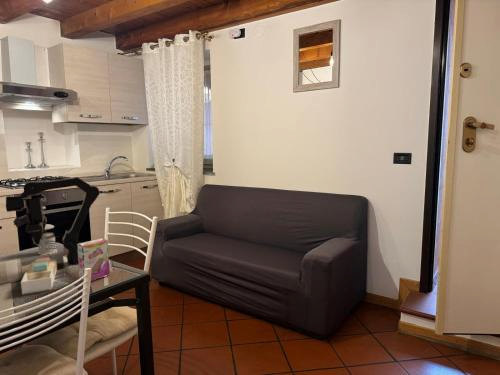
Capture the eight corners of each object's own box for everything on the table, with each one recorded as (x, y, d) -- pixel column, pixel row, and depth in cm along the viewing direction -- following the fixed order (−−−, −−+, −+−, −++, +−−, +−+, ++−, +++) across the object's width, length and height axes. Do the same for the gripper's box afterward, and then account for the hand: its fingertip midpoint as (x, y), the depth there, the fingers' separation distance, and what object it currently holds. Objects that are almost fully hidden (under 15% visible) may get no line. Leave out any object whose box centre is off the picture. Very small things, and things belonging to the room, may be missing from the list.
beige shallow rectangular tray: (57, 267, 161) (56, 259, 161) (54, 279, 147) (53, 270, 147) (32, 270, 157) (31, 262, 157) (26, 283, 143) (25, 274, 142)
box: (54, 279, 147) (53, 268, 146) (51, 289, 137) (50, 277, 137) (26, 284, 143) (25, 272, 142) (22, 294, 133) (20, 282, 132)
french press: (62, 250, 186) (58, 205, 182) (41, 257, 176) (36, 209, 172) (50, 248, 190) (46, 204, 187) (29, 254, 180) (24, 208, 176)
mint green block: (48, 266, 152) (47, 261, 151) (47, 270, 147) (46, 264, 147) (35, 268, 150) (34, 262, 149) (33, 272, 145) (32, 266, 145)
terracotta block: (49, 261, 157) (49, 256, 157) (48, 265, 153) (48, 260, 152) (37, 263, 155) (36, 258, 155) (35, 267, 151) (34, 262, 150)
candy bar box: (85, 284, 142) (81, 246, 139) (79, 281, 145) (76, 243, 143) (110, 275, 150) (107, 239, 148) (104, 273, 153) (102, 237, 151)
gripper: (17, 207, 162) (22, 239, 164) (9, 215, 145) (14, 250, 147) (44, 204, 166) (48, 235, 169) (39, 211, 149) (44, 246, 152)
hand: (39, 241), depth 159 cm, fingers open, 9 cm apart
